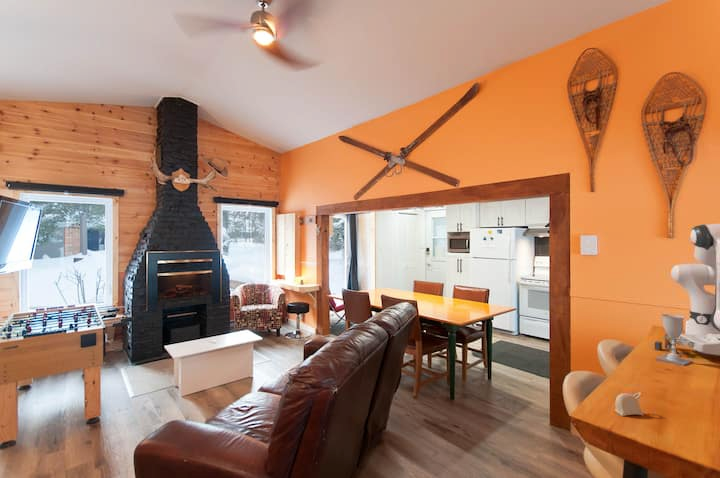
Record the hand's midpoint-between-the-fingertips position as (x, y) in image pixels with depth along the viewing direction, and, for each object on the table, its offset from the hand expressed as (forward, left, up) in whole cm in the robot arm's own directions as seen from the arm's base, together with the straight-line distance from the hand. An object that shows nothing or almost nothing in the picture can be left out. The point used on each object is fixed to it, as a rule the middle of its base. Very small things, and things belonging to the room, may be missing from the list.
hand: (674, 341), depth 152 cm
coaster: (+13, +4, -5) cm, 15 cm away
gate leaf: (-2, -2, -5) cm, 6 cm away
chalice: (+13, +4, -5) cm, 14 cm away
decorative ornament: (+82, +16, -6) cm, 84 cm away
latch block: (-2, -6, -5) cm, 8 cm away
